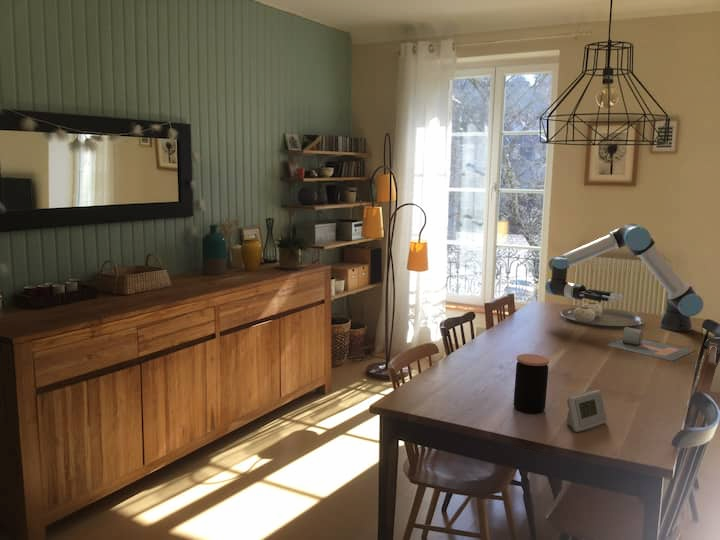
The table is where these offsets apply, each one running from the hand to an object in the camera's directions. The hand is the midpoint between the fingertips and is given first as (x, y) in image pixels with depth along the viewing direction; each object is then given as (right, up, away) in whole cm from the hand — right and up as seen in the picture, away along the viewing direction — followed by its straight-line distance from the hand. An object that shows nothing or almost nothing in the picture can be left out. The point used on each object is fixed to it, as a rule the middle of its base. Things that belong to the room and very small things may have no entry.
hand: (619, 299), depth 315 cm
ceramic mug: (+5, -21, -2) cm, 22 cm away
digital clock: (-51, -37, -101) cm, 119 cm away
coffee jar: (-66, -34, -88) cm, 115 cm away
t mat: (+10, -22, -10) cm, 26 cm away
